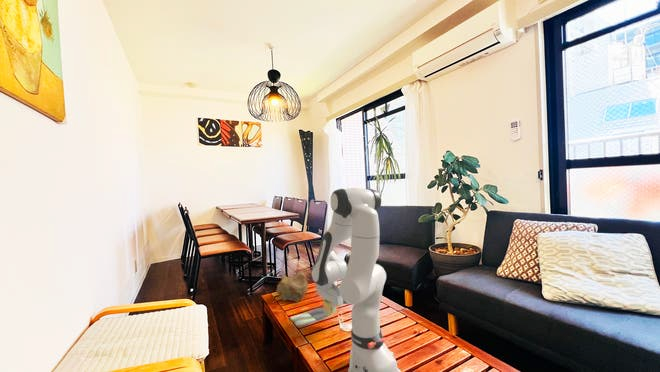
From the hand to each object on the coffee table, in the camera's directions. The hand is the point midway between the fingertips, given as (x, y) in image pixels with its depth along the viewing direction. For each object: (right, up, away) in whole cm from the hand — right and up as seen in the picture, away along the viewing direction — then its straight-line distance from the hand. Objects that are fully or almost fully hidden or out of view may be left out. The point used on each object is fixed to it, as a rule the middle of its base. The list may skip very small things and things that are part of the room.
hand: (330, 308), depth 139 cm
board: (-10, -10, +11) cm, 18 cm away
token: (0, -2, 0) cm, 2 cm away
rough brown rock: (-22, -10, +36) cm, 44 cm away
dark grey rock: (+12, -9, +35) cm, 38 cm away
